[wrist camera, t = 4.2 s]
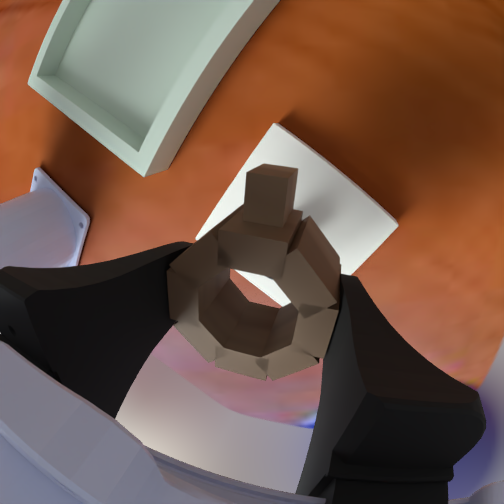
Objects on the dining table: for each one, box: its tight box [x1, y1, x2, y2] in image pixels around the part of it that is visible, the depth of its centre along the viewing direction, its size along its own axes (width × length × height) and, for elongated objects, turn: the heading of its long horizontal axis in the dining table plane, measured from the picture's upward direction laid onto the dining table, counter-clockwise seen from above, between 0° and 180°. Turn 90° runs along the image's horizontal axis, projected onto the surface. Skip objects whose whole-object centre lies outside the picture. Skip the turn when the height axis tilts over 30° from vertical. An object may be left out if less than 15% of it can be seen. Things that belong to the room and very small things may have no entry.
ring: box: [167, 163, 341, 381], centre depth 10 cm, size 7×5×3 cm
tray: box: [28, 0, 280, 177], centre depth 13 cm, size 14×14×2 cm
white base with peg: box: [195, 123, 399, 306], centre depth 15 cm, size 8×8×5 cm
